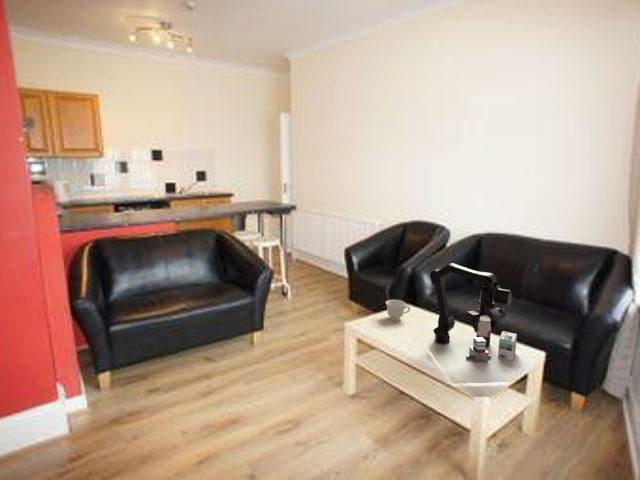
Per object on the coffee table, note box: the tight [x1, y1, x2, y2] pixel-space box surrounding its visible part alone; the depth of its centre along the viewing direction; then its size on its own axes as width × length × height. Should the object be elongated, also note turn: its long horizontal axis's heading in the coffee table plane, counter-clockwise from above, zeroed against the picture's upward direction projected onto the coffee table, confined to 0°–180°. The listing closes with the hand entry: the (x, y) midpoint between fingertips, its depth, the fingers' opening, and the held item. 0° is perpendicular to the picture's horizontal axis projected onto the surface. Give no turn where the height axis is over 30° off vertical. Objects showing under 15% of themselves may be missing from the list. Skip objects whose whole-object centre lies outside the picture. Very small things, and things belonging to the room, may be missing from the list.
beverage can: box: [475, 316, 492, 348], centre depth 201 cm, size 7×7×15 cm
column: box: [472, 336, 487, 352], centre depth 186 cm, size 4×4×10 cm
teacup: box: [385, 299, 411, 321], centre depth 237 cm, size 12×15×10 cm
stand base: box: [465, 345, 492, 363], centre depth 187 cm, size 12×12×6 cm
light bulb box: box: [497, 330, 518, 362], centre depth 190 cm, size 11×7×11 cm, turn 148°
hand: (484, 331), depth 189 cm, fingers open, 9 cm apart
